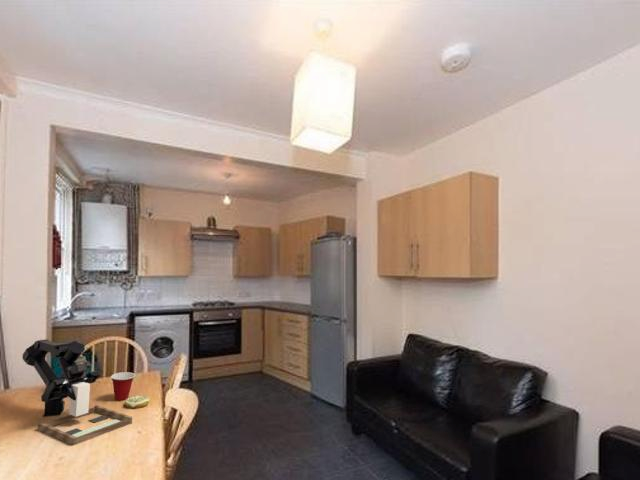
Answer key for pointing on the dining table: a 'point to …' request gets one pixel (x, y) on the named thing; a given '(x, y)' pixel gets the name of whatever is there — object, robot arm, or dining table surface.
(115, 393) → the plastic cup
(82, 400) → the pale cream block
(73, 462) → the dining table surface
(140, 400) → the decorated donut
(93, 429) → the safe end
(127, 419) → the brown flat frame
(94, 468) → the dining table surface
